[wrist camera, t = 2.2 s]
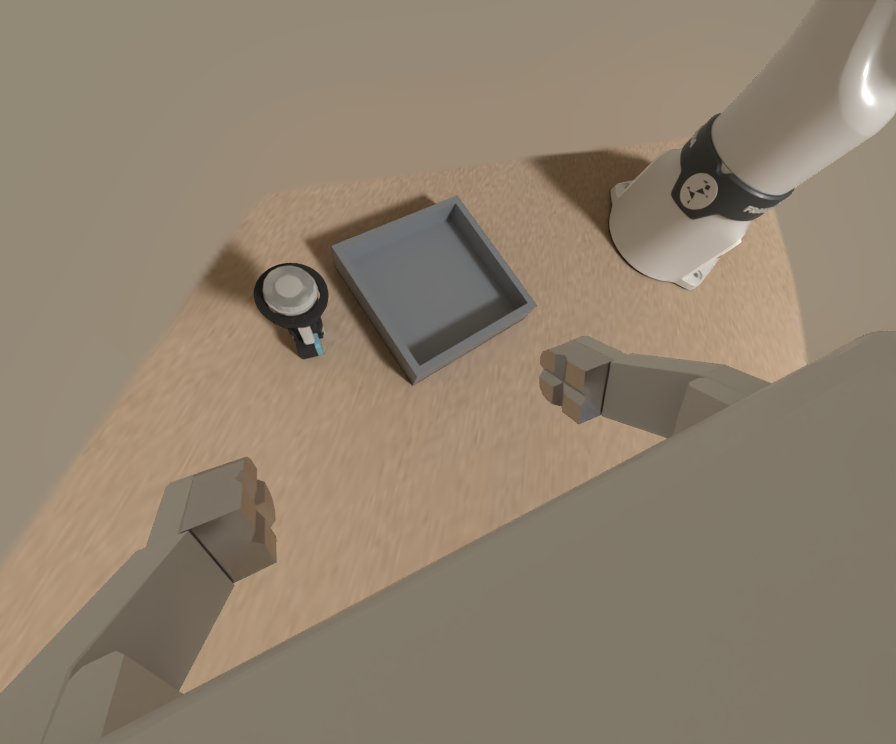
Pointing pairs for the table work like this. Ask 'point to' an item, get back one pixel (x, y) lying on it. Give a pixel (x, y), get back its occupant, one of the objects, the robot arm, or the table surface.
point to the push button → (294, 303)
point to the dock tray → (432, 286)
